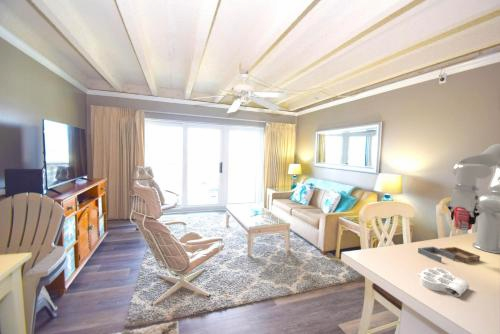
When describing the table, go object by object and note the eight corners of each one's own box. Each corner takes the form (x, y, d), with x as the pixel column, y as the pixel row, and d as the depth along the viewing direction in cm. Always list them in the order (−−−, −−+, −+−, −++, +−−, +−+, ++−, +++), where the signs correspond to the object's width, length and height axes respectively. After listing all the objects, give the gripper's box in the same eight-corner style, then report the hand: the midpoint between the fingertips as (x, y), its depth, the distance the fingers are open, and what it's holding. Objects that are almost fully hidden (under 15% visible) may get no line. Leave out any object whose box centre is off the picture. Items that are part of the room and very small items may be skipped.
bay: (432, 250, 121) (432, 246, 121) (455, 260, 111) (455, 255, 111) (417, 252, 118) (418, 248, 118) (439, 262, 108) (440, 257, 108)
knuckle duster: (456, 302, 79) (410, 281, 91) (471, 287, 88) (427, 270, 100) (457, 293, 78) (410, 274, 91) (472, 279, 88) (428, 263, 100)
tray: (453, 251, 122) (454, 246, 121) (479, 260, 111) (479, 256, 111) (439, 252, 119) (439, 248, 118) (464, 263, 108) (464, 258, 108)
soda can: (463, 226, 117) (465, 204, 116) (475, 231, 110) (477, 208, 109) (449, 226, 117) (450, 204, 116) (460, 230, 110) (462, 207, 109)
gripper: (492, 191, 104) (489, 226, 106) (450, 185, 121) (448, 216, 123) (482, 191, 103) (479, 228, 104) (441, 186, 119) (438, 217, 121)
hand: (462, 221), depth 113 cm, fingers closed on soda can, 7 cm apart
